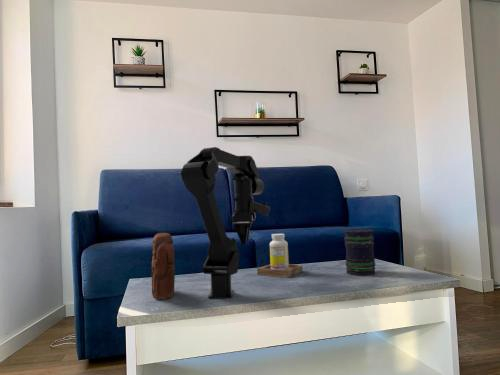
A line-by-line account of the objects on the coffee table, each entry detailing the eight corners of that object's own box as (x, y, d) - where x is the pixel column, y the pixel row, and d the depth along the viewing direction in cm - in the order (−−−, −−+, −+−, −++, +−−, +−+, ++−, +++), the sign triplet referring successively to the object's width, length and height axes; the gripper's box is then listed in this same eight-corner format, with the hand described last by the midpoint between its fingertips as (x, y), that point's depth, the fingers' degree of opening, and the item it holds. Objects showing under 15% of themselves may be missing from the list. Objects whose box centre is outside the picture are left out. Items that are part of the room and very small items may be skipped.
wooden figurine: (151, 291, 105) (149, 232, 106) (172, 289, 107) (170, 231, 108) (153, 301, 94) (151, 235, 95) (177, 298, 96) (175, 233, 97)
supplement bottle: (278, 267, 130) (277, 233, 130) (292, 269, 125) (291, 233, 125) (266, 270, 125) (265, 234, 125) (280, 272, 120) (279, 235, 121)
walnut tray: (287, 277, 117) (286, 271, 117) (257, 274, 123) (257, 268, 124) (302, 271, 127) (302, 265, 127) (274, 268, 133) (274, 262, 133)
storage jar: (378, 276, 114) (376, 231, 115) (348, 276, 116) (345, 231, 117) (372, 270, 124) (370, 228, 125) (344, 270, 126) (342, 229, 126)
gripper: (267, 193, 102) (269, 245, 102) (268, 194, 121) (270, 238, 120) (230, 194, 103) (232, 246, 102) (237, 195, 122) (238, 239, 121)
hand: (245, 242), depth 111 cm, fingers open, 9 cm apart
